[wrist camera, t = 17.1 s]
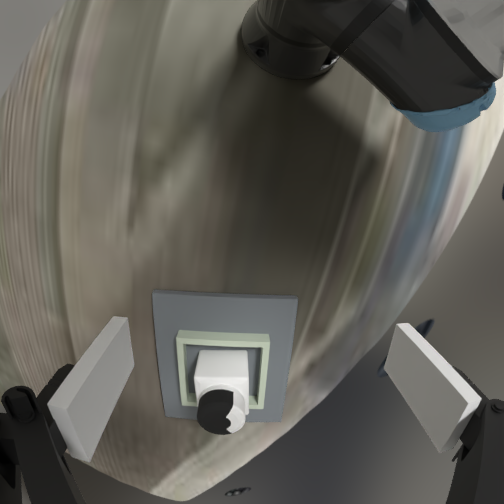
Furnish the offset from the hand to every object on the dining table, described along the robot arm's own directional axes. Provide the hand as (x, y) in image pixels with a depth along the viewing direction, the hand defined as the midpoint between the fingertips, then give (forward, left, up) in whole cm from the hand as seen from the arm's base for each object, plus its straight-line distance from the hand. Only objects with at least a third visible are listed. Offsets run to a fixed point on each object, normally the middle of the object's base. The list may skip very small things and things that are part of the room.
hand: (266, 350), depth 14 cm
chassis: (+23, -3, -32) cm, 39 cm away
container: (+23, -3, -30) cm, 38 cm away
